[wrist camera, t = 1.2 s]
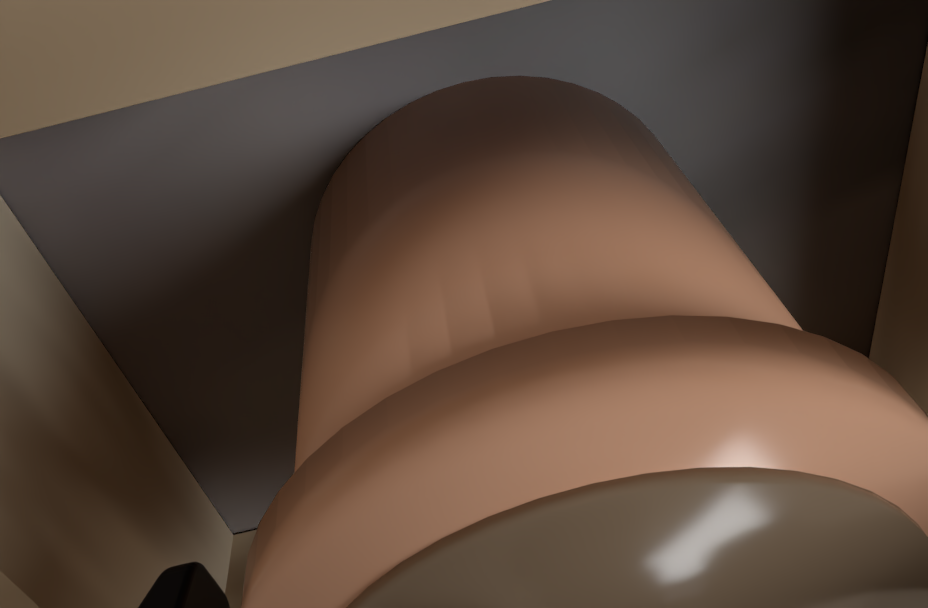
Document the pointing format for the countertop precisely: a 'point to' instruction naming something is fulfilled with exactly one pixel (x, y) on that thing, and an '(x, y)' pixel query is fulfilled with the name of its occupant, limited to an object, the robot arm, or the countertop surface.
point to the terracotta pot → (572, 388)
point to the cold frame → (90, 365)
